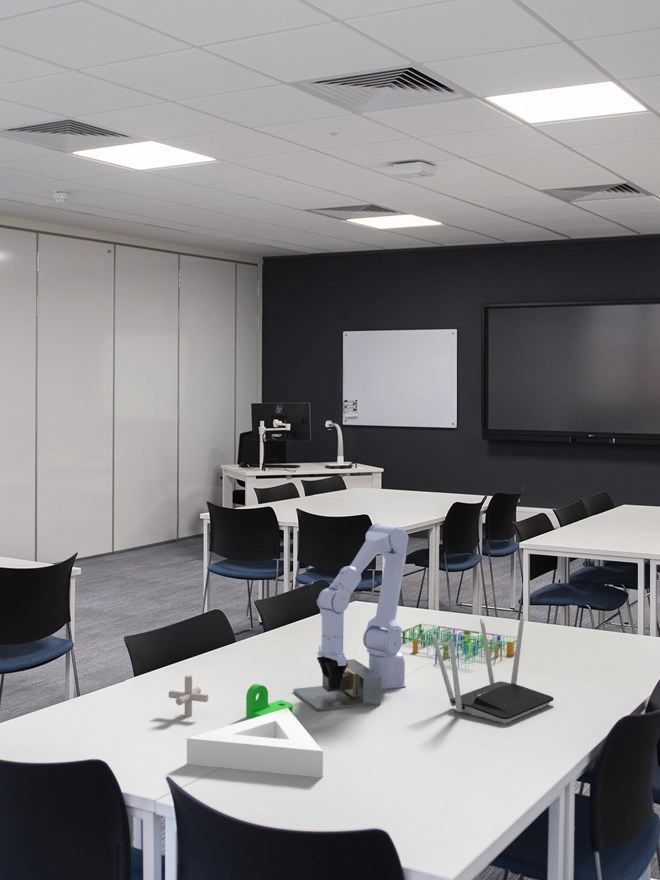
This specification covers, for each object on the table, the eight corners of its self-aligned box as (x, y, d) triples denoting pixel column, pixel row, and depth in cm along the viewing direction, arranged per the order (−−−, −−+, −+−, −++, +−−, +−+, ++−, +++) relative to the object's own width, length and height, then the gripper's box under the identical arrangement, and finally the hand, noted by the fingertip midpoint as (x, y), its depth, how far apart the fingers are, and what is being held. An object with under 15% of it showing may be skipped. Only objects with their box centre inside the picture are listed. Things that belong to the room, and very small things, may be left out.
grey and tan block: (358, 685, 269) (358, 663, 269) (372, 694, 260) (372, 672, 260) (319, 689, 265) (319, 667, 264) (331, 699, 256) (331, 676, 256)
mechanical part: (263, 723, 242) (263, 691, 241) (246, 718, 246) (246, 686, 245) (297, 712, 251) (297, 681, 250) (280, 707, 255) (281, 676, 254)
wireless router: (493, 732, 237) (495, 648, 236) (416, 711, 252) (417, 632, 251) (565, 701, 261) (566, 625, 260) (490, 684, 277) (491, 612, 276)
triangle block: (322, 781, 207) (322, 751, 207) (197, 794, 199) (197, 763, 199) (287, 734, 236) (287, 707, 235) (177, 744, 228) (177, 716, 228)
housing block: (353, 686, 273) (354, 659, 273) (381, 705, 257) (381, 676, 256) (293, 692, 267) (293, 664, 267) (317, 712, 250) (317, 682, 250)
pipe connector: (215, 712, 249) (215, 672, 249) (197, 724, 240) (197, 683, 239) (179, 708, 253) (179, 669, 252) (160, 720, 243) (160, 679, 243)
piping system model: (521, 652, 313) (521, 637, 313) (482, 673, 289) (483, 657, 288) (421, 637, 332) (422, 623, 332) (377, 656, 307) (378, 640, 307)
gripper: (308, 629, 266) (308, 680, 266) (328, 642, 252) (327, 695, 253) (333, 627, 268) (332, 677, 269) (354, 640, 255) (353, 692, 255)
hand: (332, 686), depth 261 cm, fingers closed on grey and tan block, 4 cm apart
